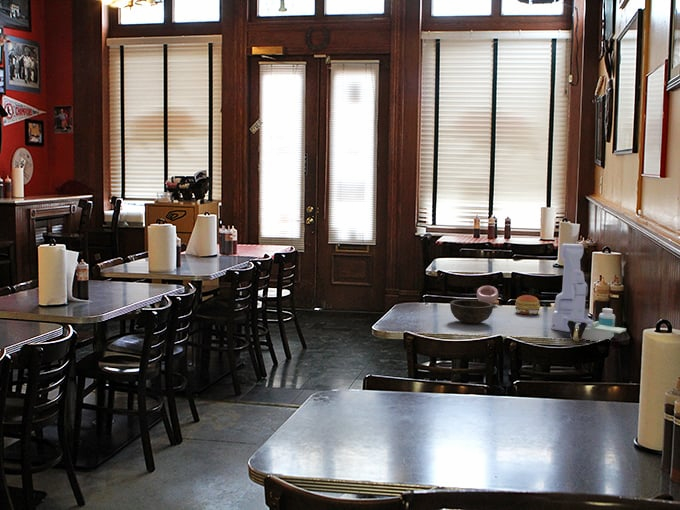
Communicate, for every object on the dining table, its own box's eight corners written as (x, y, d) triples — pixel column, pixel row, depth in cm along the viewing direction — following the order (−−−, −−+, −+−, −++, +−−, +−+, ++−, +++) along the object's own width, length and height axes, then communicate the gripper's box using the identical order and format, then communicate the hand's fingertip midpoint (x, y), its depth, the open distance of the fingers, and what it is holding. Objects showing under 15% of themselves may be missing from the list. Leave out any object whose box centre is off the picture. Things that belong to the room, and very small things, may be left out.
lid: (589, 328, 394) (590, 323, 394) (596, 325, 402) (597, 320, 401) (619, 333, 386) (619, 328, 386) (626, 330, 393) (626, 325, 393)
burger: (529, 310, 468) (530, 292, 467) (545, 315, 456) (546, 296, 455) (509, 311, 462) (510, 293, 461) (525, 316, 450) (526, 298, 449)
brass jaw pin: (571, 340, 394) (572, 329, 393) (574, 339, 396) (575, 328, 396) (578, 341, 392) (578, 330, 392) (580, 340, 395) (581, 329, 394)
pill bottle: (614, 338, 402) (616, 310, 400) (598, 337, 403) (600, 309, 402) (612, 335, 409) (614, 308, 407) (596, 334, 411) (598, 307, 409)
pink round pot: (475, 305, 477) (476, 285, 475) (476, 302, 488) (477, 282, 487) (497, 307, 474) (498, 287, 473) (497, 303, 486) (498, 284, 484)
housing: (570, 337, 400) (571, 326, 400) (578, 334, 408) (578, 323, 407) (603, 343, 391) (604, 331, 390) (610, 339, 399) (611, 328, 398)
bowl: (446, 318, 439) (447, 299, 438) (488, 319, 439) (489, 300, 438) (452, 326, 417) (453, 306, 416) (496, 328, 418) (497, 308, 416)
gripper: (560, 308, 394) (558, 336, 395) (590, 312, 385) (588, 341, 387) (565, 306, 399) (564, 334, 401) (595, 310, 391) (593, 339, 392)
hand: (576, 337), depth 394 cm, fingers closed on brass jaw pin, 3 cm apart
